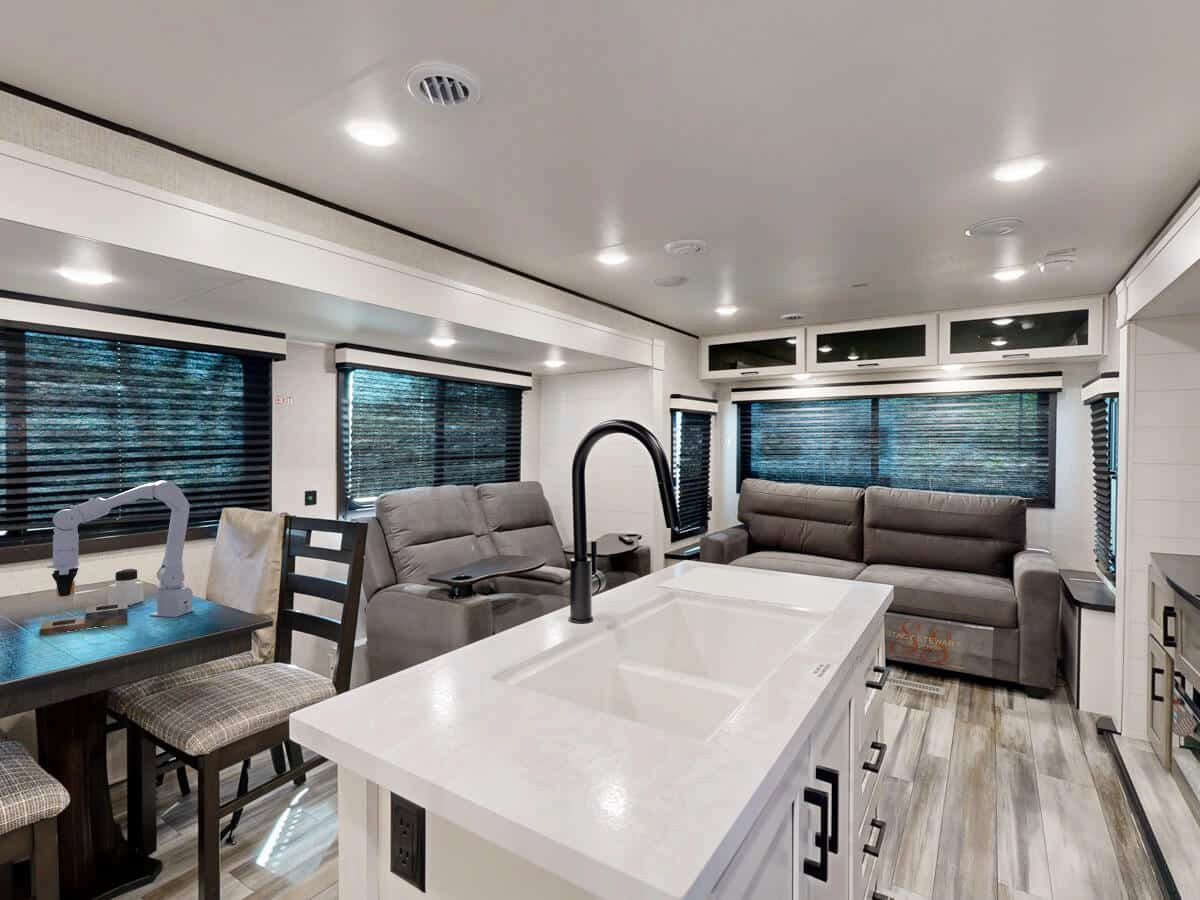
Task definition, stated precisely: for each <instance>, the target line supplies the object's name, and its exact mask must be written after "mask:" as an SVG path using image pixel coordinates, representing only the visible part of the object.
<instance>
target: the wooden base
mask: <svg viewBox="0 0 1200 900" xmlns="http://www.w3.org/2000/svg"><path fill="white" fill-rule="evenodd" d="M128 607H129V606H128V605H127V602H123V603H114V604H108V603H107V604H98V605H90V606H86V609H85V615H84V616H79V617H78V616H77V617H70V618H62V619H54V620H46V621H42V623H41V625H40V628H39V636H40V637H42V636H41V635H44V636H50V635H49V634H52V635H57V634H56V633H59V634H63V633H62V632H66V633H68V632H67V631H74V632H76V631H75V630H80V629H87V628H94V627H102V626H110V627H112V626H111V625H118V626H121V625H120V624H125V625H128V618H129V617H128V616H129V614H128V612H129V611H128V610H129V609H128Z"/></svg>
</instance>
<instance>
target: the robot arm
mask: <svg viewBox="0 0 1200 900" xmlns="http://www.w3.org/2000/svg"><path fill="white" fill-rule="evenodd" d="M154 498H155V499H157V500H159V501H161V502H163V503H164V504H165V505H166V506H167V507H168V508H169V509H171V512H170V513H171V514H170V518H169V519H170V520H169V527H168V533H167V538H166V539H167V540H166V545H165V551H164V557H163V559H162V563H161V566H160V568H159V569H158V571H157V572H156V578H157V579H158V581H159V583H158V585H157V588H156V611H155V612H152V613H150V614H149V616H150V617H151V616H153V617H165V618H166V617H168V618H169V617H170V618H171V617H172V618H177V617H179V616H182V615H185V613H186V614H188V613H190V612H191V613H192V612H194V611H195V609H194V608H193V597H194V596H193V591H192V589H191V588H190V587H186V586H185V584H184V580H185V573H184V572H183V571H184V570H183V565H184V564H183V554H184V548H185V543H186V541H185V540H186V536H187V535H186V533H187V527H188V522H189V515H190V507H191V505H190V503H189V501H188V500H187V498H186V496H185V495H184V493H183V491H182V489H181V488H180V487H179V486H178V485H176V484H175V483H173V482H170V481H168V480H163V479H161V480H157V481H155V482H151V483H146V484H141V485H139V486H136V487H134V488H132V489H129V490H126V491H124V492H122V493H119V494H117V495H112V497H108V498H102V497H96V498H94V497H90V498H88V501H85V502H82V503H79V504H76V505H75V506H74V504H72V505H70V506H69V508H70V509H69V508H68V509H64V508H63V509H60V510H59V511H57V512H56V513H55V514H54V515H53V518H52V523H53V525H54V529H53V533H54V534H53V535H52V564H48V565H47V569H54V570H53V573H52V574H51V577H52V578H53V580H54V582H55V583H56V588H57V587H58V592H59V595H60V597H62V596H69V595H70V591H71V587H72V583H73V581H75V580H74V579H75V578H76V576H77V575H78V570H79V566H80V562H79V540H80V539H79V535H80V534H79V533H78V527H79V524H80V523H81V524H85V523H88V522H90V521H93V520H96V519H98V518H101V517H103V516H104V517H105V516H106V515H107V516H108V514H110V511H111V509H113V508H116V507H119V506H122V505H125V504H127V503H131V502H133V501H136V500H140V499H149V500H154Z"/></svg>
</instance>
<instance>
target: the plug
mask: <svg viewBox="0 0 1200 900" xmlns="http://www.w3.org/2000/svg"><path fill="white" fill-rule="evenodd" d="M55 597H56V599H55V600H56V601H55V602H56V603H55V605H56V607H63V606H73V605H75V603H76V580H73V583H72V587H71V591H70V595H69V596H62V597H60V595H59V592H58V587H57V586H56V596H55Z"/></svg>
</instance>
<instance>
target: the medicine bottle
mask: <svg viewBox="0 0 1200 900" xmlns="http://www.w3.org/2000/svg"><path fill="white" fill-rule="evenodd" d="M114 575H115V577H114V578H115V580H114V582H115V583H114V584H113V583H112V584H109V585H108V587H107V593H108V594H107V604H114V603H123V602H127V605H131V604H134V603H137V604H139V603H138V602H141V601H143V602H144V599H145V597H144V596H145V591H144V590H145V583H144V581H138V570H137V569H135V568H123V569H119V570H116V571H115V574H114ZM141 603H142V602H141ZM134 605H135V604H134ZM131 606H132V605H131Z"/></svg>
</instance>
